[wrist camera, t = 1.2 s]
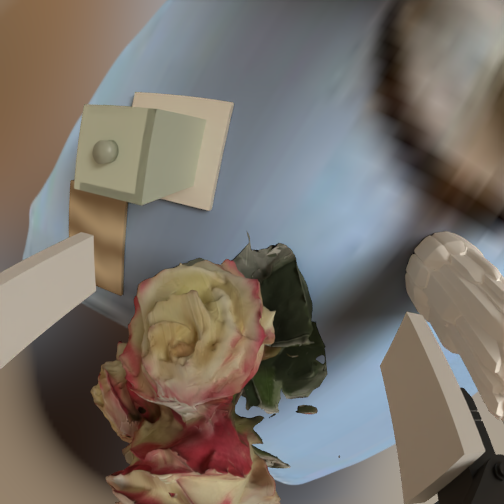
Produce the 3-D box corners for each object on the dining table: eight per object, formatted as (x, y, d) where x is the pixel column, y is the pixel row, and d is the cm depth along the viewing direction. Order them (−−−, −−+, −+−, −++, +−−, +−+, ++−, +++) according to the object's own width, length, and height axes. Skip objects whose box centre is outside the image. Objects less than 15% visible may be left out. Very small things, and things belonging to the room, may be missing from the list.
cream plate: (139, 93, 33) (124, 89, 29) (234, 103, 31) (226, 99, 28) (123, 187, 37) (109, 191, 34) (211, 209, 36) (202, 215, 33)
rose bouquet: (278, 201, 34) (157, 412, 7) (339, 384, 42) (336, 570, 14) (115, 262, 42) (-41, 381, 14) (197, 404, 49) (133, 542, 21)
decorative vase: (395, 303, 36) (455, 467, 13) (415, 225, 32) (542, 349, 9) (459, 310, 34) (539, 443, 11) (482, 238, 30) (607, 342, 7)
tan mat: (73, 179, 38) (70, 180, 38) (129, 192, 37) (126, 193, 37) (72, 273, 44) (70, 274, 44) (123, 294, 43) (121, 295, 43)
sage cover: (147, 112, 32) (75, 103, 20) (206, 119, 32) (149, 107, 19) (137, 173, 35) (65, 190, 23) (193, 185, 34) (133, 208, 22)
